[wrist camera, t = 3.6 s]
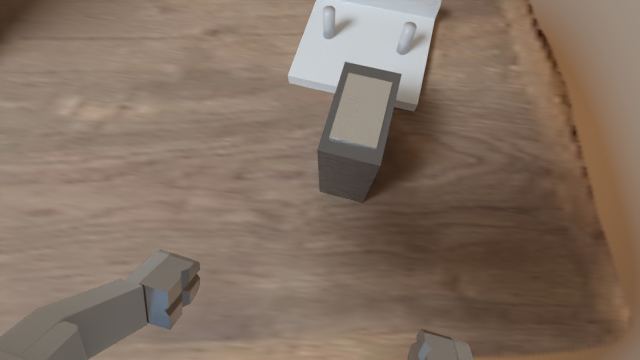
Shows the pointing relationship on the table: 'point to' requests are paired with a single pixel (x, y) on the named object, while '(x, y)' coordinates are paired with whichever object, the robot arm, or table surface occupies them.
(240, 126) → the table surface
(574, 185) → the table surface
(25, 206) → the table surface
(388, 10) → the white pegged base
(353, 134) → the block
